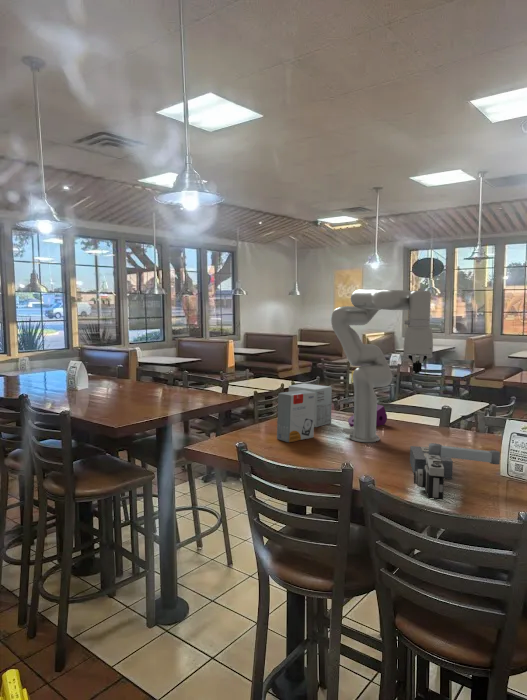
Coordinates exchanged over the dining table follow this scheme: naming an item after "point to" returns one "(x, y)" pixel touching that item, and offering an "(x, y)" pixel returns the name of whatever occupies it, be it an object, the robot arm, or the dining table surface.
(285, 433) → the hard drive box
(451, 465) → the chassis
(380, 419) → the mounting bracket
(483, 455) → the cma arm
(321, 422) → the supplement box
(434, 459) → the camera
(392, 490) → the dining table surface
